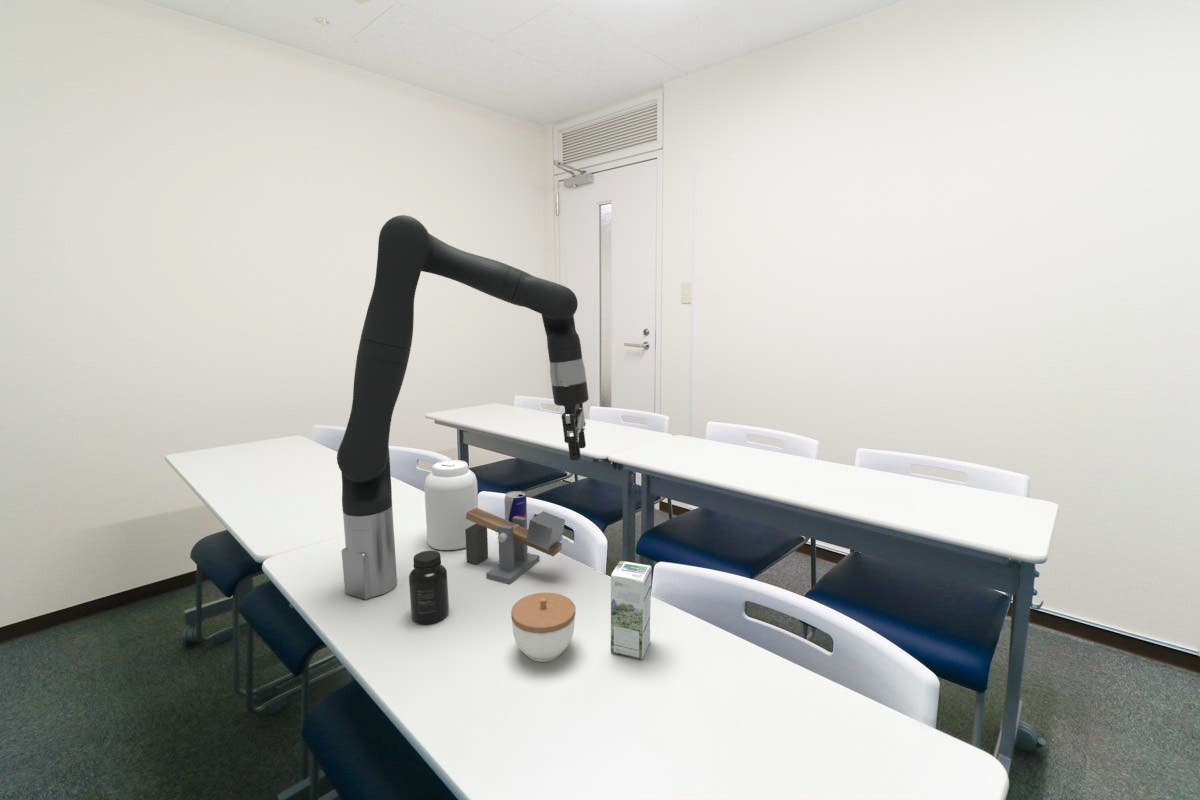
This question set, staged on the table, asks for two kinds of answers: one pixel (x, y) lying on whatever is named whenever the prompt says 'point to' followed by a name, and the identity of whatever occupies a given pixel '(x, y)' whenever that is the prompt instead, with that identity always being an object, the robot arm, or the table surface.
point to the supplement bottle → (428, 588)
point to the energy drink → (515, 505)
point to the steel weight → (545, 530)
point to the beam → (495, 521)
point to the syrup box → (630, 609)
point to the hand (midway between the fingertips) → (578, 453)
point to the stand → (500, 551)
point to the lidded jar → (543, 625)
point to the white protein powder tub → (449, 504)
